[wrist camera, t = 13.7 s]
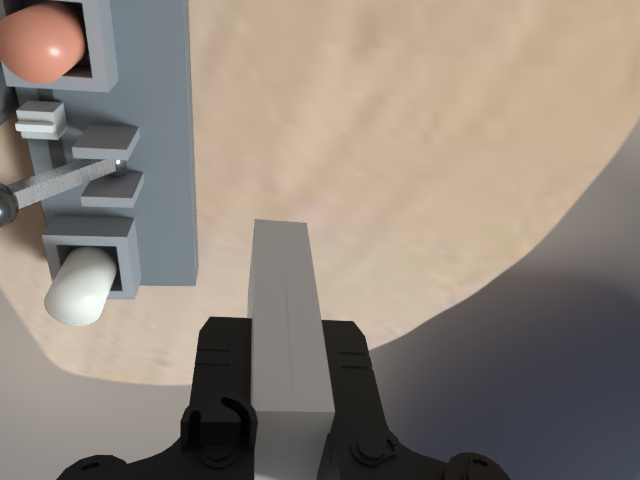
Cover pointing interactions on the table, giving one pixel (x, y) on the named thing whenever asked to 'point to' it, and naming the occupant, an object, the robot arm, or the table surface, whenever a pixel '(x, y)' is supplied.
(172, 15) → the panel
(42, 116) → the slider grey
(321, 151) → the table surface
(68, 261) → the button ivory
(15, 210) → the lever
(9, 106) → the bottle
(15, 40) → the button terracotta
